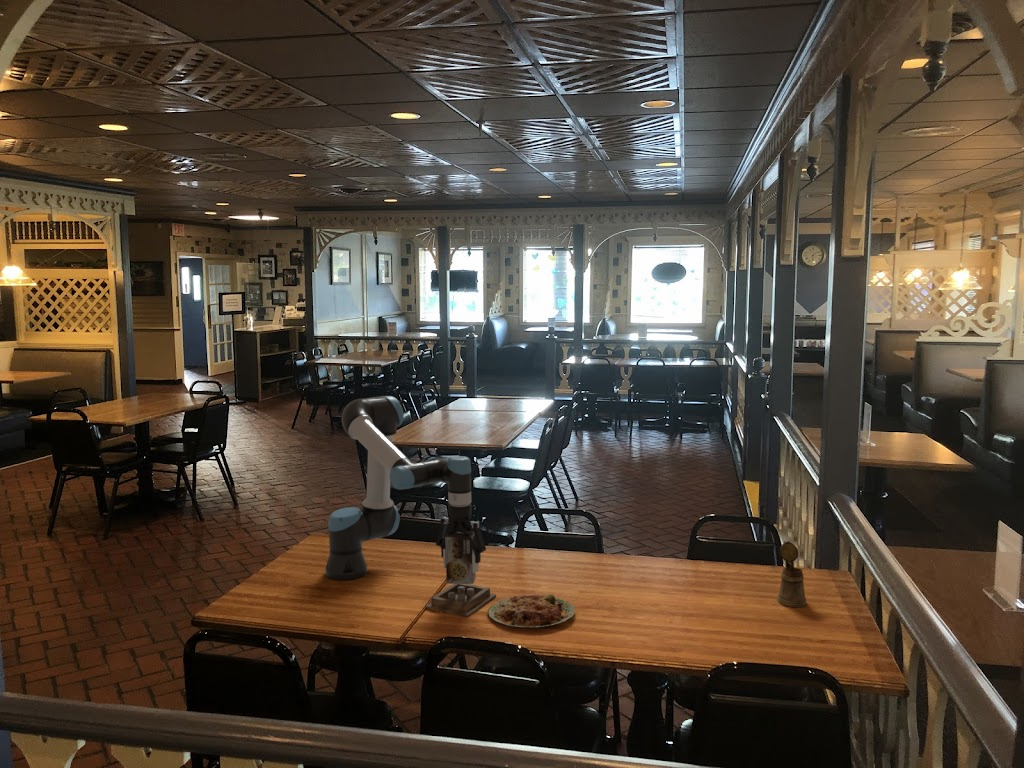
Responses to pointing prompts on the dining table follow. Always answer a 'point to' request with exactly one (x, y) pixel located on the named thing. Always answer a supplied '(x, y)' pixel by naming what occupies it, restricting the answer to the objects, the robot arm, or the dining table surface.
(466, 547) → the coffee box
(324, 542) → the dining table surface
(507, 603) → the rice dish
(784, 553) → the disc topped pedestal
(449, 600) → the peg stand
